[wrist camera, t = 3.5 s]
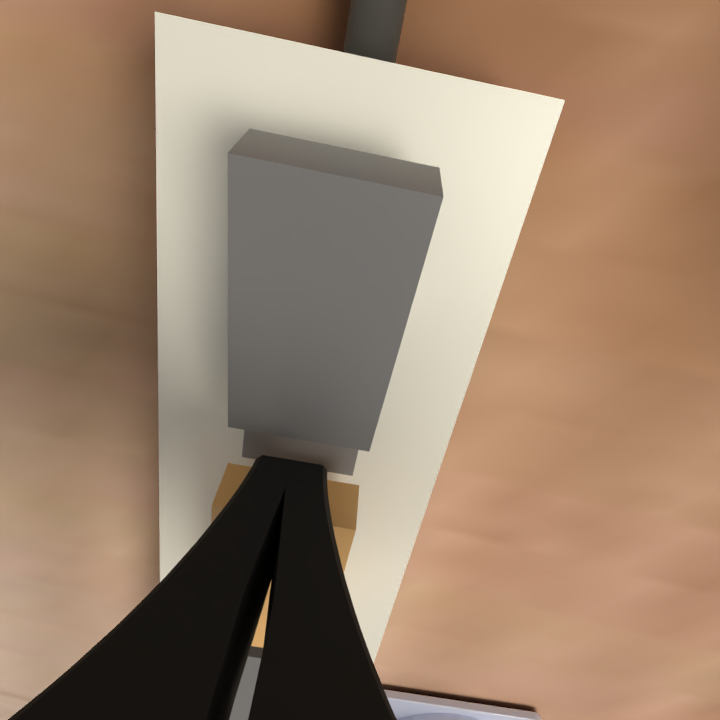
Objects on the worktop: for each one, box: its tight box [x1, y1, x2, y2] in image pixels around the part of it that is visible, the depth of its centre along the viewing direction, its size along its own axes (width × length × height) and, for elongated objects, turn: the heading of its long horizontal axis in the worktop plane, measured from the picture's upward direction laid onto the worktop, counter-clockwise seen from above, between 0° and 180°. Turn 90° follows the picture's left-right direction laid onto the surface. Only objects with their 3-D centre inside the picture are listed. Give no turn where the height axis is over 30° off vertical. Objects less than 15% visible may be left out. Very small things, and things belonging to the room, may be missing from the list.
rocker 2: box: [228, 129, 443, 452], centre depth 9 cm, size 6×3×1 cm, turn 169°
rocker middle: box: [211, 463, 359, 648], centre depth 12 cm, size 6×3×1 cm, turn 169°
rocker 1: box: [229, 646, 263, 720], centre depth 15 cm, size 6×3×1 cm, turn 169°
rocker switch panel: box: [155, 0, 565, 664], centre depth 13 cm, size 28×7×4 cm, turn 169°
